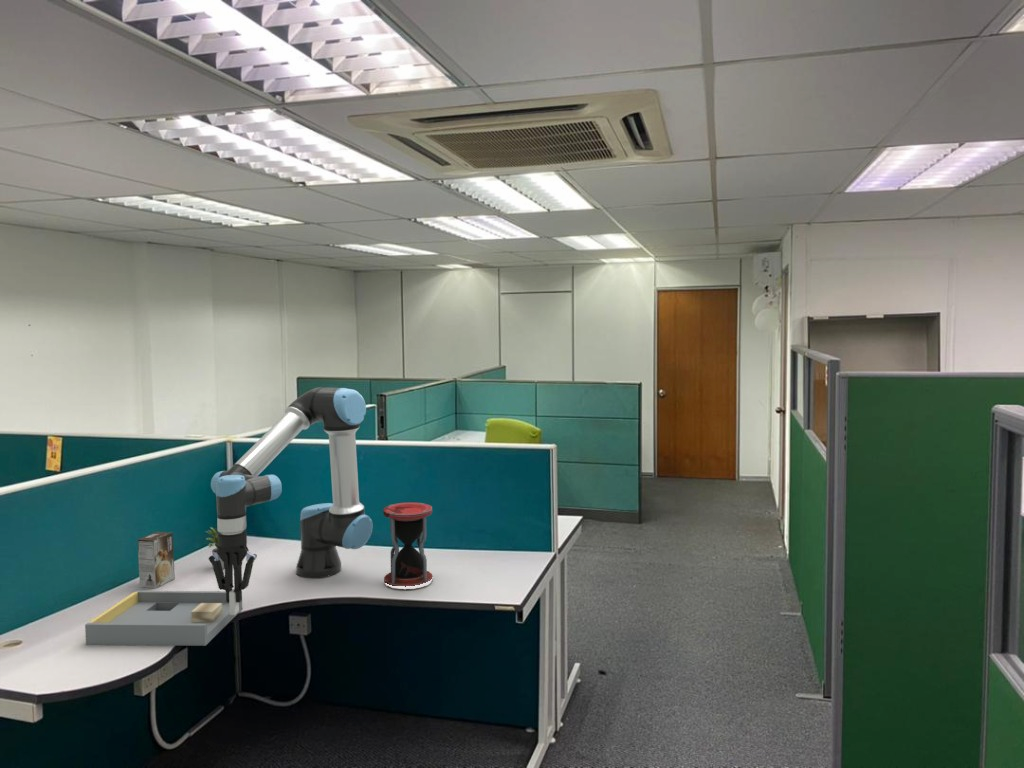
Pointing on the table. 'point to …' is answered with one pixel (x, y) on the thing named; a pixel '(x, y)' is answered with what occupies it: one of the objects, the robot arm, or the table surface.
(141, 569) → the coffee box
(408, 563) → the hourglass
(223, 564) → the house plant
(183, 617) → the box
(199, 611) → the block
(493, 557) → the table surface
